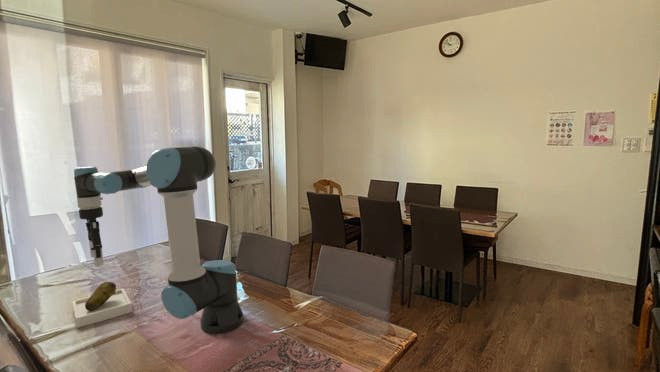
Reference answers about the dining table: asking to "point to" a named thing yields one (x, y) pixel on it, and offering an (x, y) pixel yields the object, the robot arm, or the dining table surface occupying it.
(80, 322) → the rectangular tray
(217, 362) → the dining table surface
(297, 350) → the dining table surface
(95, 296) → the potato
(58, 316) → the dining table surface
